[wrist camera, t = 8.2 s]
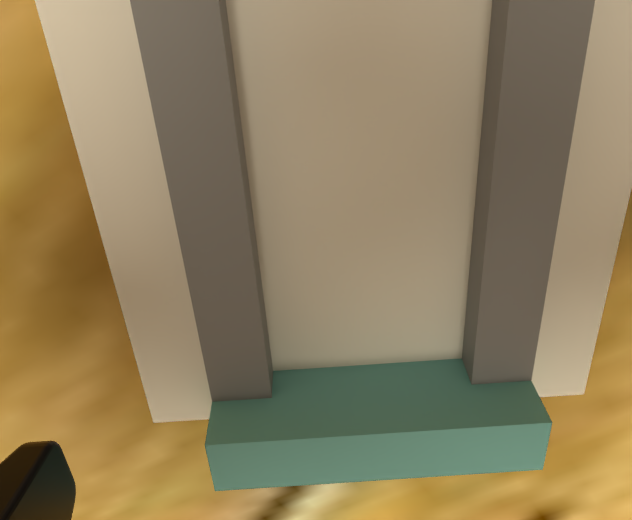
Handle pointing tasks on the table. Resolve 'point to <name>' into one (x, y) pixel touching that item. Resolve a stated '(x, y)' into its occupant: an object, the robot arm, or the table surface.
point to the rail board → (354, 219)
